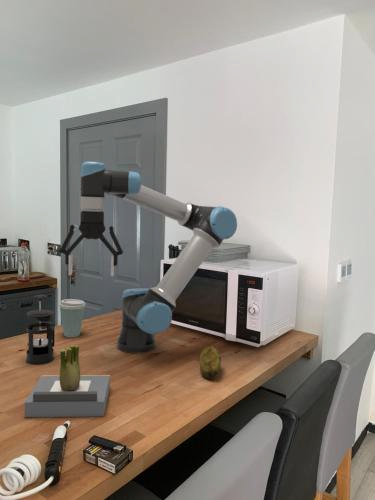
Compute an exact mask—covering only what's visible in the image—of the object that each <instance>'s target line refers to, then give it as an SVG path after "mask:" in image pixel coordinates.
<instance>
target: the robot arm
mask: <svg viewBox="0 0 375 500" xmlns="http://www.w3.org/2000/svg"><path fill="white" fill-rule="evenodd" d="M80 170H81V171H80V209H81V211H80V221H79V222H80V223H79V225H76V224H70V226H69V231H68V234H67V236H66V237H65V239H64V241H63V243H62V244H61V246H60V249H59V253H60V254H63V255H65V265H66V266H67V265H68V276H72V275H73V271H74V269H73V265H74V262H73V260H74V259H73V256H74V255H73V253H72V252H73V251H74V250H75V249H76V248H77V246H79V244H80V243H81V242H82V241H83V240H84V239H86V240H100V241H101V242H102V243H103V244H104V246H105V247H106V248H107V249H108V251H109V252H110V253H111V254H112V255H111V257H110V276H111V277H114V275H115V267H117V266H118V261H119V259H118V257H119V256H120V255H123V253H124V250H123V248H122V245H121V244H120V242H119V240H118V237H117V236H116V234H115V227H114V226H113V225H111V226H105V212H104V210H105V194H106V195H110V196H111V195H112V196H114V197H116V198H119V199H122V200H124V201H127V202H129V203H132V204H134V205H136V206H139V207H142V208H143V209H146V210H149V211H152V212H154V213H157V214H159V215H161V216H163V217H167V218H168V219H170V220H174V221H176V222H177V223H178V225H179V226H181V227H184V228H187V229H189V230H191V231H192V233H193V235H192V237H191V238H190V240H188V243H186V245H185V246H184V248H183V249H182V251H181V252H180V254H178V256H177V258H176V259H175V260H174V262H173V263H172V264H171V265H170V267H169V269H168V270H167V271H166V273H165V274H164V275H163V277H162V278H161V279H160V281H159V282H158V283H157V285H156V286H155V287H149V288H146V287H145V288H144V287H143V288H142V287H141V288H140V287H139V288H128V289H125V290H124V291H122V297H121V300H122V303H121V304H122V305H121V307H122V310H121V311H122V314H121V315H122V316H121V317H122V318H121V322H122V323H121V329H120V332H119V334H118V338H117V341H116V347H117V349H118V350H119V351H121V352H125V353H130V354H142V353H147V352H151V351H153V350H155V349H156V345H157V339H156V337H155V335H158V334H161V333H163V332H165V331H166V330H168V329H169V327H170V325H171V323H172V321H173V312H174V310H175V309H176V307H177V305H176V300H177V299H178V297H179V296H180V295H181V293H182V292H183V290H184V289H185V288H186V286H187V284H188V283H189V282H190V280H191V279H192V277H193V276H194V275H195V273H196V272H197V270H199V267H201V265H202V264H203V262H204V261H205V259H206V258H207V257H208V255H209V254H210V253H211V251H212V250H213V249H217V248H219V247H220V245H221V244H222V243H223V241H224V240H228V239H231V238H232V237H233V236H234V235H235V233H236V231H237V228H238V222H237V221H238V220H237V216H236V214H235V213H234V212H233V210H231V209H230V208H228V207H225V206H220V205H219V206H206V205H205V206H204V205H197V204H193V203H191V202H189V201H188V202H186V203H185V202H182V201H180V200H177V199H175V198H173V197H170V196H168V195H166V194H164V193H161V192H159V191H156V190H154V189H152V188H149V187H147V186H145V185H142V178H141V175H140V174H139V173H138V172H135V171H130V170H129V171H125V170H114V169H113V170H112V169H106V165H105V163H103V162H99V161H84V162H82V164H81V169H80ZM77 231H79V232H80V233H81V234H80V235H79V236H78V237H77V238H76V240H75V241H74V242H73V243H72V244H71V246H69V248H68V249H67V247H68V245H69V244H70V242H71V240H72V239H73V236H74V234H75V233H76V232H77ZM105 231H106V232H107V233H109V236H110V237H111V239H112V241H113V244H114V246H115V247H116V249H115V248H114V246H113V245H112V244H111V243H110V242H109V241H108V239H107V238H106V236H104V233H105ZM71 253H72V254H71Z"/></svg>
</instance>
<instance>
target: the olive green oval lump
mask: <svg viewBox="0 0 375 500" xmlns="http://www.w3.org/2000/svg"><path fill="white" fill-rule="evenodd" d="M199 355H200V356H199V371H200V373H201V375H202V376H203V377H204V378H206V379H209V380H212V379H215V378H216V377H218V376H219V373H220V369H221V363H222V357H221V354H220V351H219V349H218V348H217V347H216V346H206V347H204V348H203V349H202V351H201V352H200V354H199Z"/></svg>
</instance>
